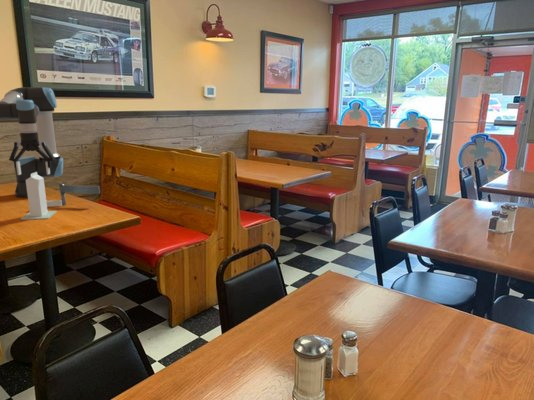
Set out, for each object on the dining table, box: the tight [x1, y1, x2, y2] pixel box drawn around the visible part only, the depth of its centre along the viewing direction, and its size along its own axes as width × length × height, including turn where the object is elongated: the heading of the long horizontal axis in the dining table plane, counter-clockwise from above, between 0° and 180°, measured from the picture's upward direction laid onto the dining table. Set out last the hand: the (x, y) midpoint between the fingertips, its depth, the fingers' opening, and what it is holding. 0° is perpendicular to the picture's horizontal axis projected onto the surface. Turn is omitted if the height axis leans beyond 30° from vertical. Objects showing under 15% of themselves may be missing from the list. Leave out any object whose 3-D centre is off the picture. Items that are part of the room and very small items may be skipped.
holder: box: [46, 193, 67, 207], centre depth 227 cm, size 14×14×7 cm
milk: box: [26, 172, 49, 216], centre depth 210 cm, size 6×6×22 cm
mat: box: [20, 210, 58, 221], centre depth 213 cm, size 13×13×1 cm
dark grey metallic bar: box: [58, 183, 101, 195], centre depth 231 cm, size 23×3×5 cm, turn 85°
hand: (34, 174), depth 208 cm, fingers open, 13 cm apart
